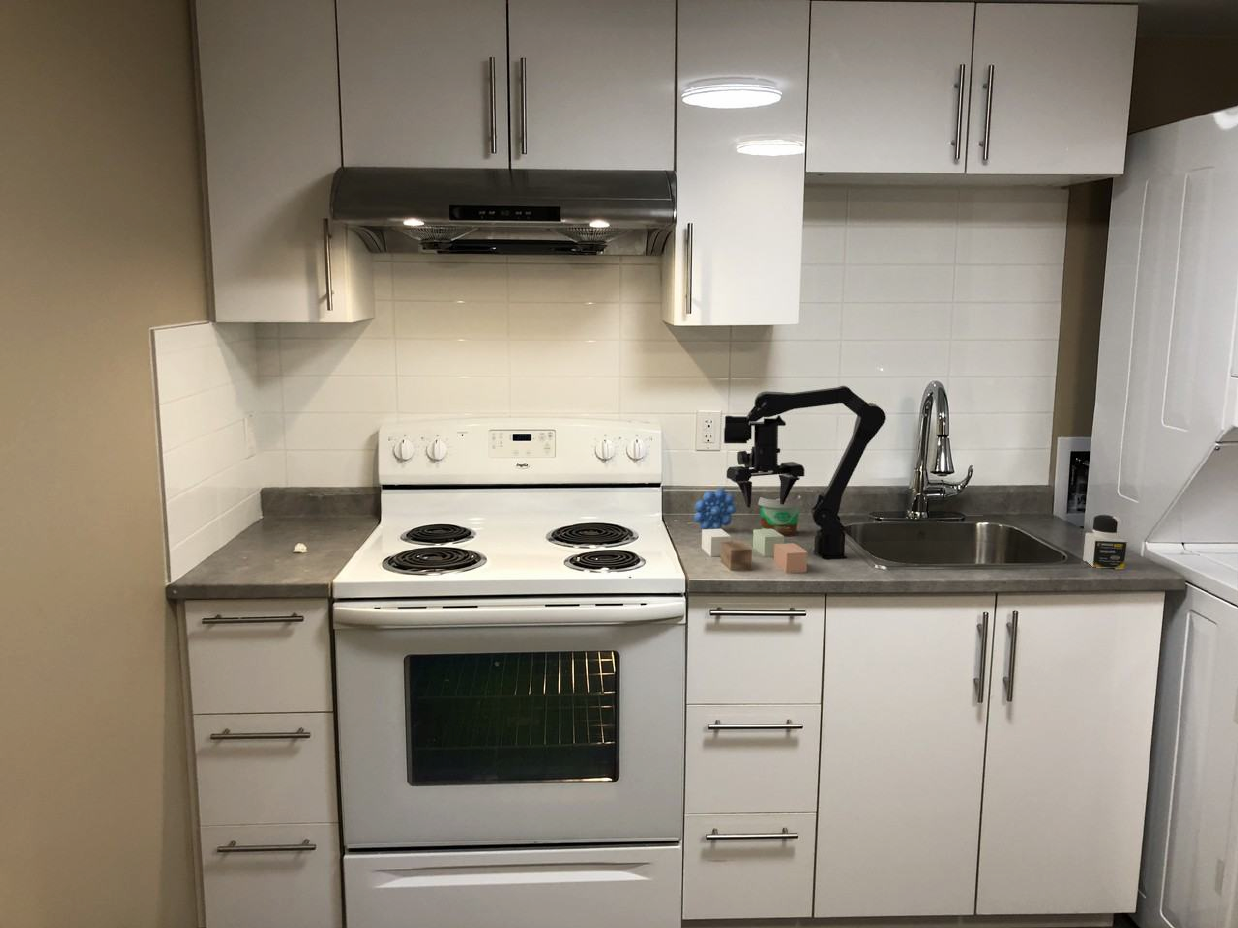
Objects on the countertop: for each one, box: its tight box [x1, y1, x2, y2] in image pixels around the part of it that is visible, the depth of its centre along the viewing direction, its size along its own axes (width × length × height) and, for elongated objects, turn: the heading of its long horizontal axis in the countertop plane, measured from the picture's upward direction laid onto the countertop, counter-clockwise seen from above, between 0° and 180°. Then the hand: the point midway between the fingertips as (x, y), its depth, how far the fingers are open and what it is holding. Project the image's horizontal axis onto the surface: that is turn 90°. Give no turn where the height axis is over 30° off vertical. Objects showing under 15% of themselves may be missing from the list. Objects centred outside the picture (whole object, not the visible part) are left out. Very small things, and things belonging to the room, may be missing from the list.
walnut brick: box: [720, 540, 753, 572], centre depth 233 cm, size 5×8×5 cm, turn 11°
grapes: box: [693, 487, 738, 531], centre depth 266 cm, size 12×7×12 cm, turn 90°
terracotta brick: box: [773, 542, 808, 574], centre depth 231 cm, size 5×8×5 cm, turn 12°
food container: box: [758, 495, 803, 537], centre depth 263 cm, size 12×6×10 cm, turn 105°
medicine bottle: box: [1083, 514, 1127, 570], centre depth 236 cm, size 7×7×12 cm
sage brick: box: [752, 528, 785, 557], centre depth 246 cm, size 5×8×5 cm, turn 13°
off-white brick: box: [701, 528, 732, 557], centre depth 245 cm, size 5×8×5 cm, turn 11°
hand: (765, 505), depth 243 cm, fingers open, 9 cm apart
